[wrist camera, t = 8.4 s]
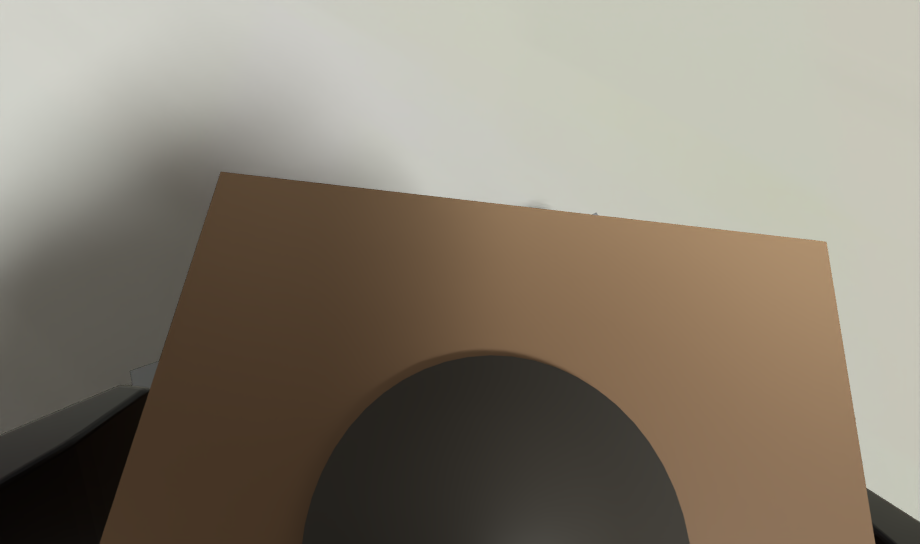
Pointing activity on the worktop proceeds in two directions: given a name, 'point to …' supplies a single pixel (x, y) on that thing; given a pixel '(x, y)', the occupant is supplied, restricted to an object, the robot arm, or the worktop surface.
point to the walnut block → (491, 381)
